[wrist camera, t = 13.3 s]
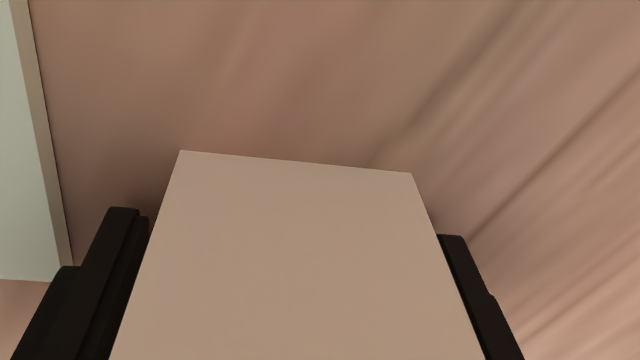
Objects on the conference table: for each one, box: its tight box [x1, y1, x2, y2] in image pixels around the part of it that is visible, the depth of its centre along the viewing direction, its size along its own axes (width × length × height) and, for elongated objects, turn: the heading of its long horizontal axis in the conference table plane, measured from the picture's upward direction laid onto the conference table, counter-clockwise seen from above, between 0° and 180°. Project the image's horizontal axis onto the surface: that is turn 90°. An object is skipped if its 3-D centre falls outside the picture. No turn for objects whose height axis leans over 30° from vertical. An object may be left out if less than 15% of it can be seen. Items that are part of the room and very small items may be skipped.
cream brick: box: [109, 150, 485, 360], centre depth 9 cm, size 5×5×6 cm
